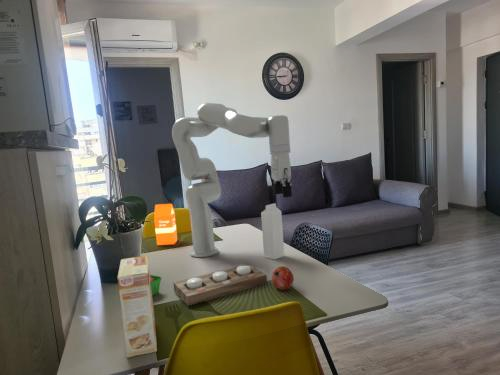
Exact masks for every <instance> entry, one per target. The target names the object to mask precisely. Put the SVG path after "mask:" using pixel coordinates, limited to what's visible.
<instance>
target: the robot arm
mask: <svg viewBox="0 0 500 375" xmlns="http://www.w3.org/2000/svg"><path fill="white" fill-rule="evenodd" d="M196 115H197V117H193V116H192V117H191V116H190V117H189V116H186V117H182V118H178V119H177V120H176V121H175V122H174V124H173V125H172V129H171V136H172V141H173V143H174V146H175V149H176V151H177V155H178V159H179V164H180V166H181V170H182V174H183V176H184V178H185V180H187V181H190V182H191V181H200V182H196V183H193V184H190V185H189V186H188V187H187V188H186V190H185V198H186V203H187V206H188V211H189V218H190V219H189V220H190V227H191V238H192V250H190V252H189V255H190V256H191V257H194V258H207V257H212V256H215V255H217V254H218V253H219V248H218V247H217V246H216V247H215V235H214V225H213V224H214V223H213V215H212V211H211V208H210V206H209V205H208V203H211V202H215V201H217V200H218V199H219V198H220V197H221V194H222V188H221V183H220V179H219V175H218V173H217V168H216V166H215V164H214V162H213V160H212V159H210V158H208V157H200V155H199V151H198V149H197V148H198V147H197V146H196V144H195V143H194V142H193V140H192V139H191V138H204V137H208V136H209V135H210V134H212V133H213V132H215V131H216V130H218V129H219V128H221V129H225V130H227V131H228V132H231V133H232V134H235V135H238V136H242V137H245V138H248V139H257V138H260V139H261V138H267V137H268V142H269V154H270V155H271V157H270V158H271V159H270V168H271V169H270V171H271V173H270V175H271V176H270V177H271V179H272V180H273V185H274V194H275V195H282V197H283V198H292V196H293V192H292V191H293V190H292V170H291V161H290V154H291V142H290V127H289V126H290V124H289V118H288V116H287V115H280V114H279V115H271V116H270V117H260V116H259V117H258V116H248V115H243V114H240V113H238V112H237V110H236V109H235V108H231V107H227V106H225V105H224V104H221V103H214V102H205V103H203V104H201V105H200V106H199V107H198V109H197V112H196Z"/></svg>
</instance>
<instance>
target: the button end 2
mask: <svg viewBox="0 0 500 375" xmlns="http://www.w3.org/2000/svg"><path fill="white" fill-rule="evenodd" d="M238 266H239V267H237V275H238V276H240V277H241V276H244V275H248V274H251V270H250V266H251V265H250V266H240V265H238Z"/></svg>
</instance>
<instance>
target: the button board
mask: <svg viewBox="0 0 500 375" xmlns="http://www.w3.org/2000/svg"><path fill="white" fill-rule="evenodd" d="M239 266H250V270H251V274H248V275H244V276H241V277H240V276H238V275H237V267H239ZM221 271H223V272H226V273H227V280H226V281H222V282H218V283H214V282H213V273H215V272H221ZM192 278H201V279H202V287H200V288H196V289H193V290H188V288H187V280H189V279H192ZM264 284H268V276H267V273H265V272H263V271H262V270H259V269H257V268H256V267H254V266H252V265H250V264H248V263H244V264H239V265H236V266H233V267H228V268H225V269H221V270H217V271H213V272H209V273H205V274H201V275H197V276H193V277H189V278H185V279H181V280H178V281H177V280H176V281H173V290H174V291H173V292H174V293H175V294H177V295H178V297H179V298H180V299H181V301H183V302H184V304H186V306H188V307H189V305H190V306H192V304H193V305H195V303H196V304H199V303H198V302H200V303H203V302H206V301H205V300H207V301H210V300H213V299H212V298H214V299H216V297H217V298H219V297H220V298H221V297H224V296H227V295H231V294H233V293H238V292H241V291H244V290H247V289H251V288H254V287H258V286H261V285H264ZM230 293H231V294H230ZM223 295H224V296H223ZM209 299H210V300H209ZM202 301H203V302H202Z"/></svg>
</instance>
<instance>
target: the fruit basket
mask: <svg viewBox="0 0 500 375" xmlns="http://www.w3.org/2000/svg"><path fill="white" fill-rule="evenodd" d="M161 280H162V277H161V276H158V275H154V274H150V281H151V291H152V296H153V295H156V294H159V292H160V286H161Z"/></svg>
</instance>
